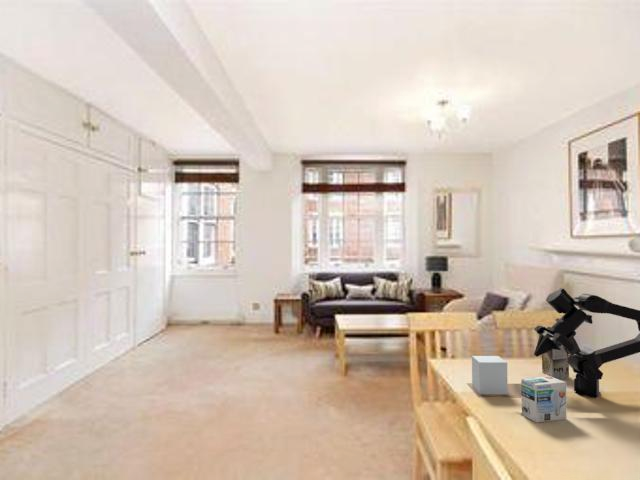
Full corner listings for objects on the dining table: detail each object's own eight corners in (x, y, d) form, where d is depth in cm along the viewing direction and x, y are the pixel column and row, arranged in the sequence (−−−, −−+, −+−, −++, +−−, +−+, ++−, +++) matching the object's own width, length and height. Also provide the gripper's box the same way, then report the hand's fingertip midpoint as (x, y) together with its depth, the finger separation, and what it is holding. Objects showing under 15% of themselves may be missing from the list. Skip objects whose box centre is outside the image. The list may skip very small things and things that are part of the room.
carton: (498, 386, 161) (498, 355, 161) (507, 394, 152) (507, 362, 152) (472, 386, 161) (471, 355, 161) (479, 394, 152) (479, 362, 152)
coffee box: (570, 378, 173) (569, 335, 173) (552, 378, 173) (551, 335, 173) (557, 372, 182) (557, 331, 182) (541, 372, 182) (540, 331, 182)
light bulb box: (536, 423, 130) (536, 385, 130) (520, 415, 137) (520, 378, 137) (567, 419, 133) (567, 381, 133) (550, 411, 140) (549, 375, 140)
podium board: (523, 387, 163) (523, 383, 163) (541, 401, 148) (541, 397, 148) (466, 386, 164) (466, 383, 164) (478, 400, 149) (478, 397, 149)
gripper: (601, 346, 146) (565, 380, 146) (572, 335, 164) (541, 365, 165) (575, 321, 146) (540, 355, 147) (549, 312, 165) (518, 343, 165)
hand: (535, 355), depth 156 cm, fingers closed
